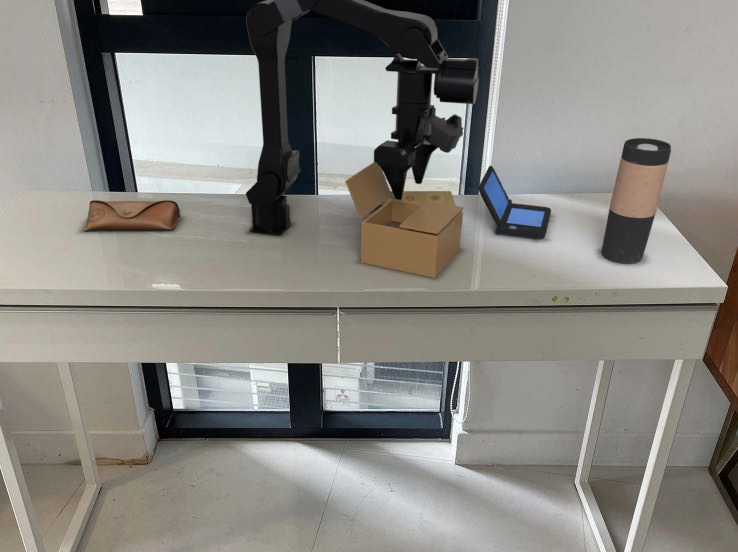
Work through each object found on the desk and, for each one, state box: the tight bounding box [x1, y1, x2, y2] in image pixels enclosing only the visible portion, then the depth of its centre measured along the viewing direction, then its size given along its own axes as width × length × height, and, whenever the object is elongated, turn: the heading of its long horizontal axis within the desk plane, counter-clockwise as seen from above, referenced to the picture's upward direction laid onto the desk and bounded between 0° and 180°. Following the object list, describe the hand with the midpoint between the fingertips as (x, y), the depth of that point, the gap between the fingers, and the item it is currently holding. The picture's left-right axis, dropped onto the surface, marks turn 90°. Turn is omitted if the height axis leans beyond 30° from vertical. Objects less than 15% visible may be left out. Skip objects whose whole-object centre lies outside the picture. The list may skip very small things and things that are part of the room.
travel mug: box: [601, 137, 672, 265], centre depth 125 cm, size 8×8×20 cm
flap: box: [344, 161, 392, 220], centre depth 127 cm, size 7×13×1 cm
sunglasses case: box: [82, 199, 181, 232], centre depth 142 cm, size 18×7×7 cm, turn 92°
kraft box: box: [360, 199, 464, 279], centre depth 128 cm, size 14×13×8 cm
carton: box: [372, 190, 456, 214], centre depth 145 cm, size 8×16×4 cm, turn 88°
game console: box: [478, 165, 552, 240], centre depth 141 cm, size 16×14×9 cm
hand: (408, 191), depth 129 cm, fingers open, 9 cm apart
